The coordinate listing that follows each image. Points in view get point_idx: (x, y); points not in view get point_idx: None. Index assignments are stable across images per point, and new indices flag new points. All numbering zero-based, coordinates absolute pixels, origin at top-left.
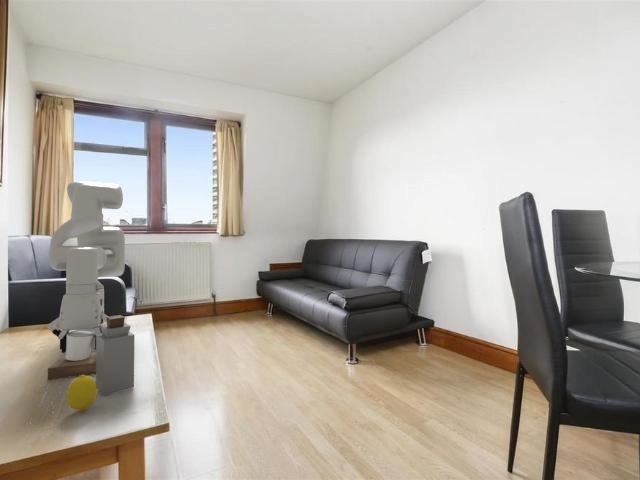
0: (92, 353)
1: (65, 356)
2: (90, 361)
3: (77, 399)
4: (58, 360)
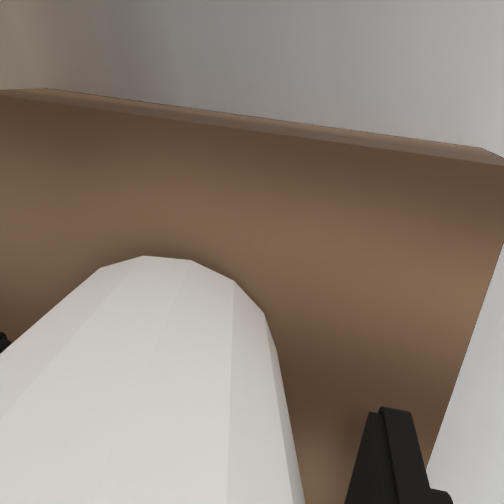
0: (296, 246)
1: (23, 219)
2: (307, 498)
3: None
4: (9, 330)
